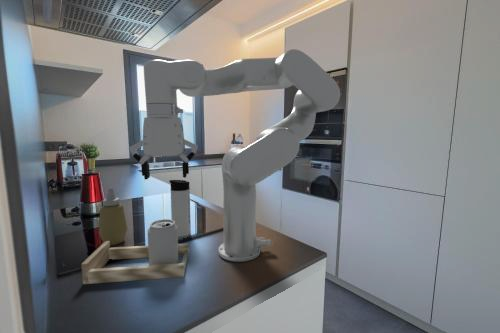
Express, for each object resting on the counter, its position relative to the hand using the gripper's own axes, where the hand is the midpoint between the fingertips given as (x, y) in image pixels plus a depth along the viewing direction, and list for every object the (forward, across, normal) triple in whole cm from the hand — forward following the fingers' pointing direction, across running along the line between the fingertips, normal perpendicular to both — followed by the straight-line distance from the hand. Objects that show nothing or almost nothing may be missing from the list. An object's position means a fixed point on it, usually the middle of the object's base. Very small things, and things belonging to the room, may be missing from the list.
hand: (166, 177), depth 65 cm
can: (+24, +2, +2) cm, 24 cm away
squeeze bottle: (+23, +20, -15) cm, 34 cm away
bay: (+23, +7, +2) cm, 25 cm away
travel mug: (+24, -1, -16) cm, 29 cm away
